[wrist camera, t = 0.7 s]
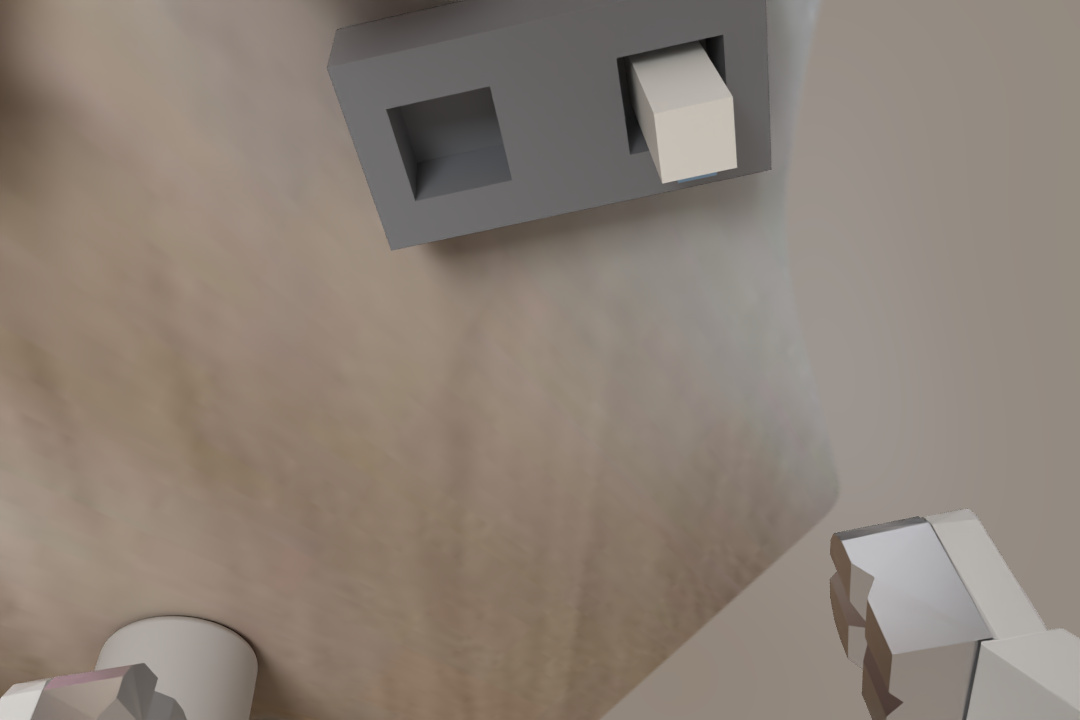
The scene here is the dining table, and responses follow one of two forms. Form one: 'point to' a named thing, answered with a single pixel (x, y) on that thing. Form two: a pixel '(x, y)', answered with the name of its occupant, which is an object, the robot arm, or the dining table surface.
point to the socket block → (528, 106)
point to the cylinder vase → (189, 664)
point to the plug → (682, 111)
